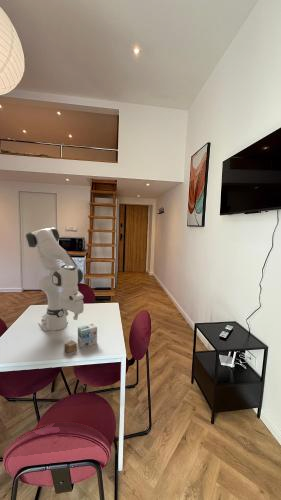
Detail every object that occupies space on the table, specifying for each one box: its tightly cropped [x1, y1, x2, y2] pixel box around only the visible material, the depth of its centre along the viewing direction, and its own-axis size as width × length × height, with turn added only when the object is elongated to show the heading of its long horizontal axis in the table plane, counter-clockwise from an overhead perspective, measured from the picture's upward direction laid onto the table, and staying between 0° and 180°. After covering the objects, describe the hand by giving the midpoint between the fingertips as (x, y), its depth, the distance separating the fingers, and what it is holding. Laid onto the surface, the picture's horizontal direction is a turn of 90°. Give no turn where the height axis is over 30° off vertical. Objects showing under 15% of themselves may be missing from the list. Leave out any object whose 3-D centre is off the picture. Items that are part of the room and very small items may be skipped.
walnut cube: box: [63, 339, 78, 355], centre depth 129 cm, size 5×5×5 cm
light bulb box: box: [77, 323, 98, 348], centre depth 138 cm, size 11×7×11 cm, turn 126°
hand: (70, 317), depth 127 cm, fingers open, 8 cm apart
